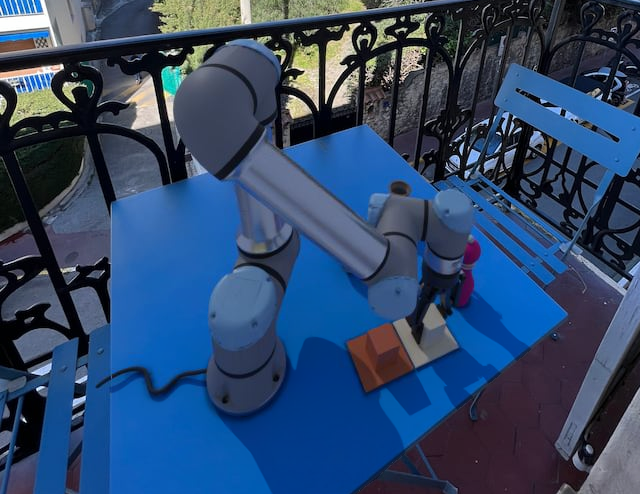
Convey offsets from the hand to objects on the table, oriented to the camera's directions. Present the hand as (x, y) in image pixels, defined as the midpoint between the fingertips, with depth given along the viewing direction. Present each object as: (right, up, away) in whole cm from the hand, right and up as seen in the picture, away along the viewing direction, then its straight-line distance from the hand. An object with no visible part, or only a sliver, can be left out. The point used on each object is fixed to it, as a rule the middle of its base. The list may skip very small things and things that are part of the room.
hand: (426, 332), depth 89 cm
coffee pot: (-2, +11, +26) cm, 29 cm away
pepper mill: (+9, +3, +10) cm, 14 cm away
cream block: (0, 0, 0) cm, 0 cm away
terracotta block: (-10, -2, -5) cm, 12 cm away
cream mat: (0, -1, 0) cm, 1 cm away
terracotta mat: (-11, -2, -4) cm, 12 cm away
